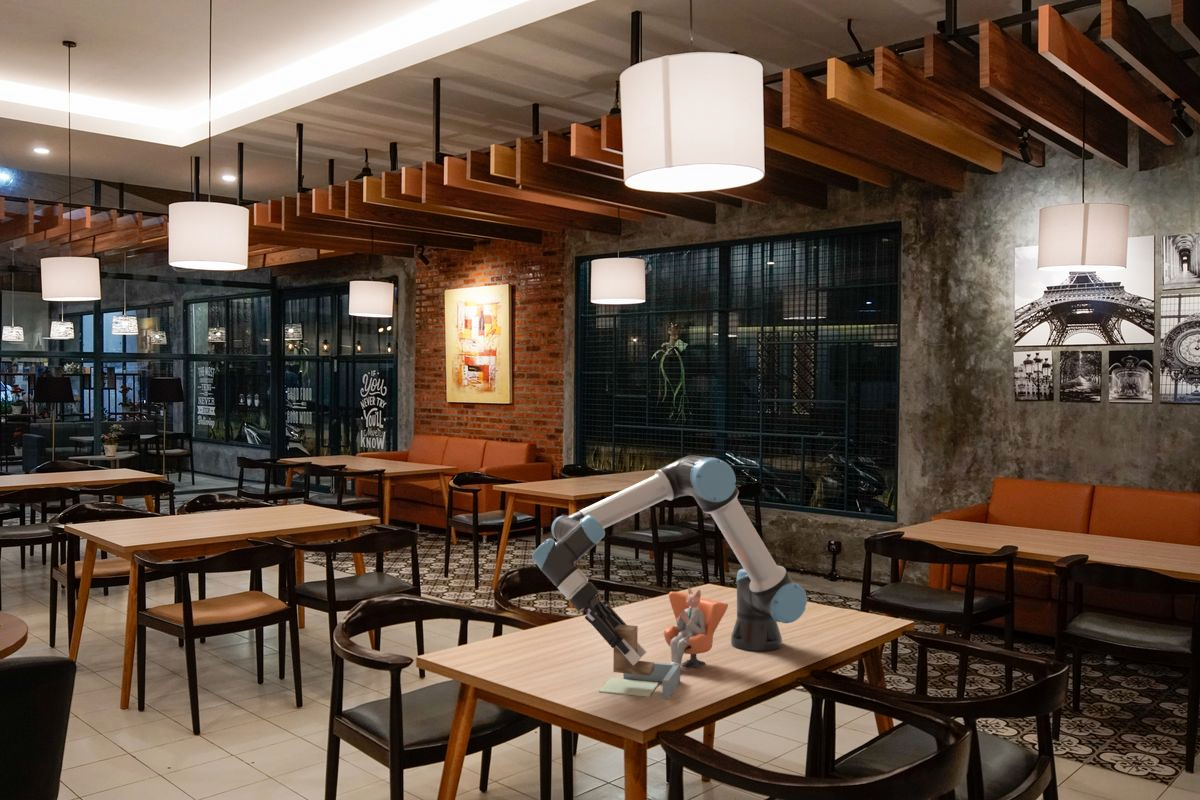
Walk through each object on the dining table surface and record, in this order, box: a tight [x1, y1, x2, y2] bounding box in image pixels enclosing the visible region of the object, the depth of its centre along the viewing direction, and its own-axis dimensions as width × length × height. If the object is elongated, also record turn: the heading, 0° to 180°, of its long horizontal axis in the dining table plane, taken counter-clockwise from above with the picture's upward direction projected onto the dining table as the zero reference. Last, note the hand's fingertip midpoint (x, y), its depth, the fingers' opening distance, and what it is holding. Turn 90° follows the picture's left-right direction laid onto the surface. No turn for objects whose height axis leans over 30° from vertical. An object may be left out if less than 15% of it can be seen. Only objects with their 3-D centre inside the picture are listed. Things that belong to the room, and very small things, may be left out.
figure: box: [663, 587, 729, 670], centre depth 255 cm, size 22×18×21 cm
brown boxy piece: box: [612, 624, 655, 676], centre depth 237 cm, size 10×5×11 cm, turn 73°
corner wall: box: [622, 661, 681, 700], centre depth 238 cm, size 15×14×4 cm
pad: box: [598, 677, 660, 698], centre depth 237 cm, size 13×11×1 cm
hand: (639, 658), depth 236 cm, fingers closed on brown boxy piece, 5 cm apart
